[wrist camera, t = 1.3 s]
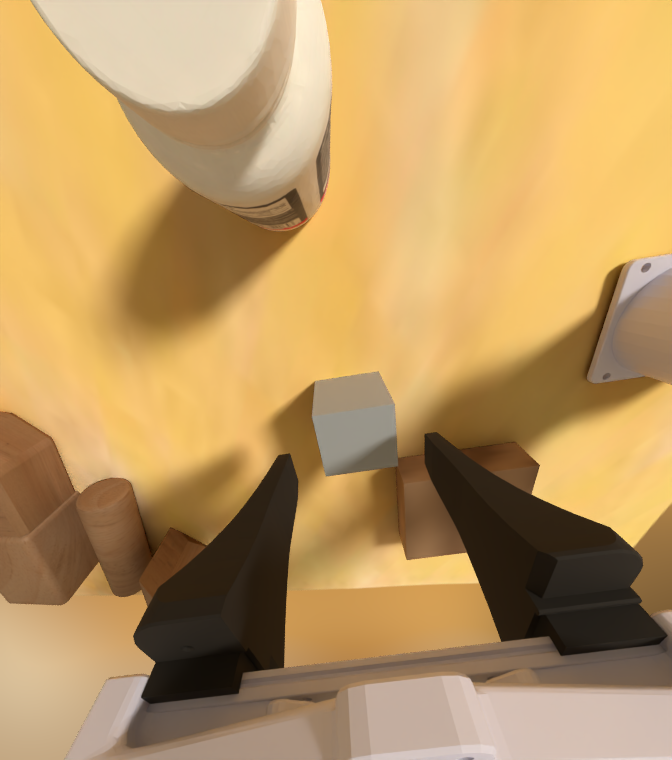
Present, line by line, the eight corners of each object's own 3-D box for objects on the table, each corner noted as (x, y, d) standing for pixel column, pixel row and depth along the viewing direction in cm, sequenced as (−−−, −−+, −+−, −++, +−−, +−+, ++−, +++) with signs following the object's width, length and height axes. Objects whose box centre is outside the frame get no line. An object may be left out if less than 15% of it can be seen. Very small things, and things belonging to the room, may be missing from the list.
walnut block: (511, 438, 21) (539, 465, 18) (495, 515, 25) (516, 546, 22) (393, 455, 21) (403, 483, 18) (398, 528, 25) (406, 560, 22)
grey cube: (378, 371, 17) (394, 403, 13) (382, 423, 19) (398, 466, 15) (315, 380, 17) (311, 416, 13) (325, 431, 19) (325, 476, 15)
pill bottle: (256, 57, 10) (-132, -1095, 2) (352, 160, 12) (422, -134, 3) (200, 179, 12) (-140, -48, 3) (290, 255, 14) (223, 239, 5)
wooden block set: (-4, 625, 20) (-157, 459, 12) (64, 552, 25) (-15, 402, 18) (209, 632, 21) (189, 487, 14) (232, 561, 27) (226, 427, 19)
